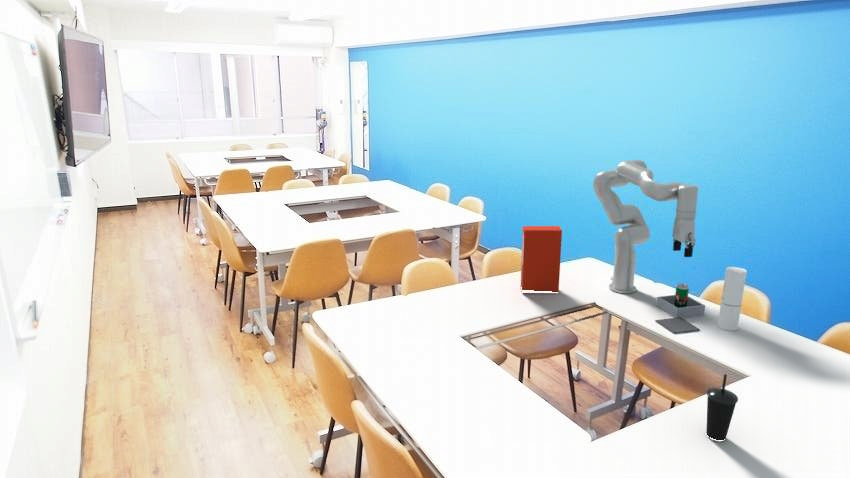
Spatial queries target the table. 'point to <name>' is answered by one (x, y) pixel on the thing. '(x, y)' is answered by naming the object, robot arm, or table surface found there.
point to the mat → (677, 325)
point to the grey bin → (691, 310)
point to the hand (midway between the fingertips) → (682, 253)
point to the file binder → (541, 258)
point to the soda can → (681, 295)
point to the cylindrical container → (732, 298)
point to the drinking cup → (719, 411)
